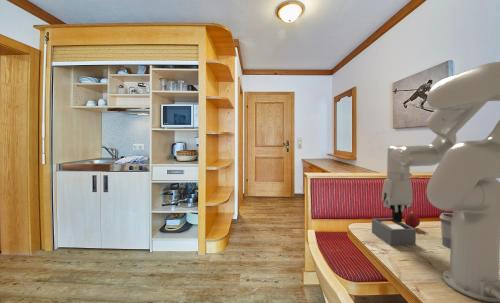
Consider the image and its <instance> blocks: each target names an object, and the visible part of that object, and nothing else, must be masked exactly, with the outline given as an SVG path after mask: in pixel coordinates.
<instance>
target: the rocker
mask: <svg viewBox="0 0 500 303" xmlns="http://www.w3.org/2000/svg"><path fill="white" fill-rule="evenodd" d="M381 223H382V224H383V225H385V226H387V227H388V228H390V229H405V228H403V227H401V226H399V225H397V224H395V223H394V222H392V221H381Z"/></svg>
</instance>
